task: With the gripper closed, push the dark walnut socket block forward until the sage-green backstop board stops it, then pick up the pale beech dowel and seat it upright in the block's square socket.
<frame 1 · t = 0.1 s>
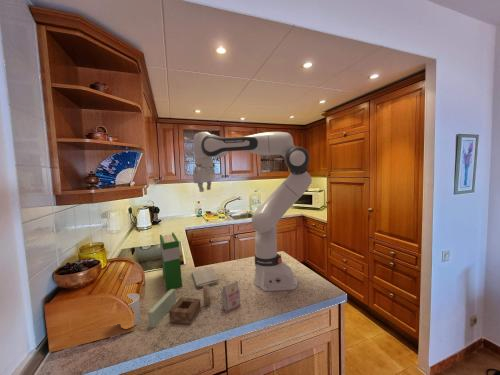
hand: (205, 190, 113), 48 cm above the counter, fingers open, 8 cm apart
white cup: (130, 323, 85), on the counter
dowel: (207, 304, 95), on the counter
tea bag: (231, 306, 93), on the counter
washcloth: (204, 280, 117), on the counter
hardback book: (172, 281, 117), on the counter
backstop: (163, 313, 90), on the counter
block: (185, 310, 88), point 2 cm above the counter, slide at 0.0 cm
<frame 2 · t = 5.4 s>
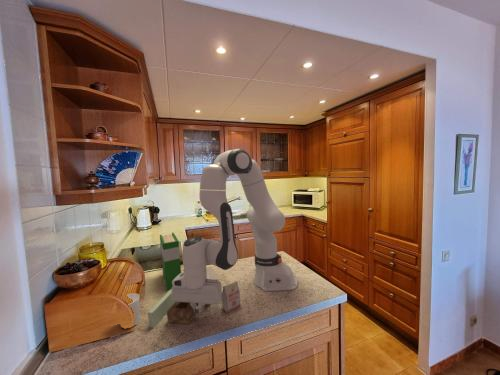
hand: (197, 311, 87), 2 cm above the counter, fingers closed
block: (183, 309, 88), point 2 cm above the counter, slide at 0.9 cm, touching gripper
everything else where it was.
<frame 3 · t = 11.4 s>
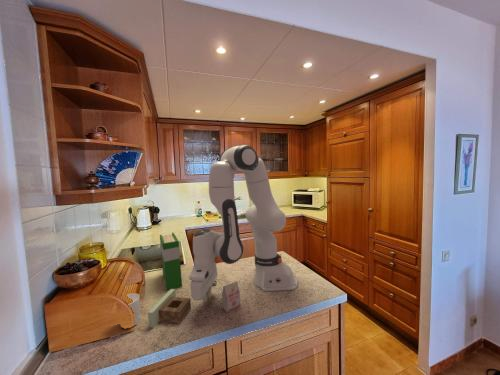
hand: (206, 297, 94), 3 cm above the counter, fingers closed on dowel, 3 cm apart
dowel: (207, 304, 95), on the counter, touching gripper
block: (175, 309, 89), point 2 cm above the counter, slide at 4.5 cm, touching backstop
everything else where it was.
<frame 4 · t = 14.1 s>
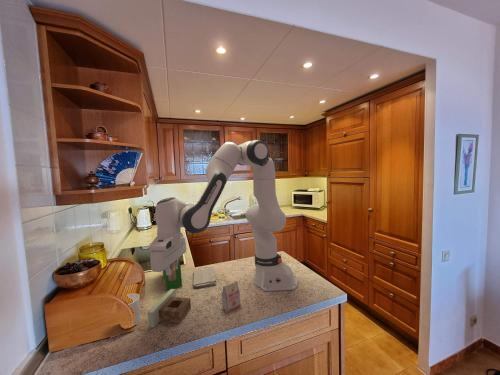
hand: (172, 272, 87), 18 cm above the counter, fingers closed on dowel, 3 cm apart
dowel: (172, 279, 88), point 15 cm above the counter, touching gripper
everything else where it was.
when the fingers open (6 cm above the counter, at t = 16.9 s): dowel drops 2 cm, resting on block.
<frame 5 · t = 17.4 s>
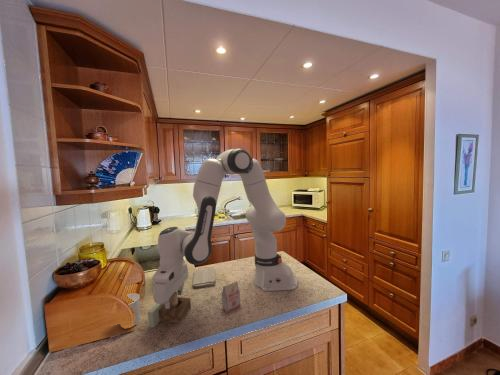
hand: (174, 300, 88), 6 cm above the counter, fingers open, 8 cm apart
dowel: (175, 311, 89), point 1 cm above the counter, touching block
block: (175, 309, 89), point 2 cm above the counter, slide at 4.5 cm, touching backstop, dowel
everything else where it was.
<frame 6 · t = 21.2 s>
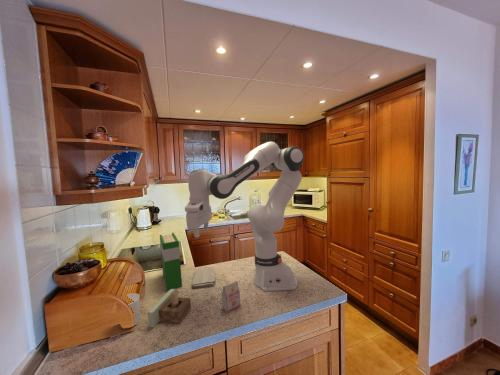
hand: (201, 233, 101), 29 cm above the counter, fingers open, 8 cm apart
block: (175, 309, 89), point 2 cm above the counter, slide at 4.5 cm, touching dowel
at the end: block slide at 4.5 cm; dowel 0.1 cm off-centre on the block, point 1.1 cm above the block's base; dowel tilted 2° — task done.
